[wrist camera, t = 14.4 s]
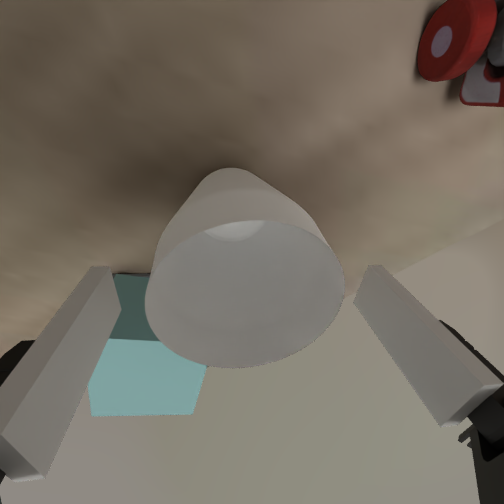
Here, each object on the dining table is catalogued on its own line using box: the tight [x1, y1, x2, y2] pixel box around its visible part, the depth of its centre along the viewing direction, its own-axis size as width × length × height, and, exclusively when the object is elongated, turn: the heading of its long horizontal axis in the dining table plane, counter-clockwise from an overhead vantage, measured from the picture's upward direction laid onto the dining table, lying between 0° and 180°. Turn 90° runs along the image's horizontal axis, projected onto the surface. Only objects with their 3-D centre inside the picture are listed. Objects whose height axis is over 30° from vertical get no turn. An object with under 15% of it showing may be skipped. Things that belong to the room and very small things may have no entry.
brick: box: [88, 274, 207, 416], centre depth 23 cm, size 9×11×7 cm
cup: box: [145, 168, 345, 368], centre depth 15 cm, size 9×9×12 cm
